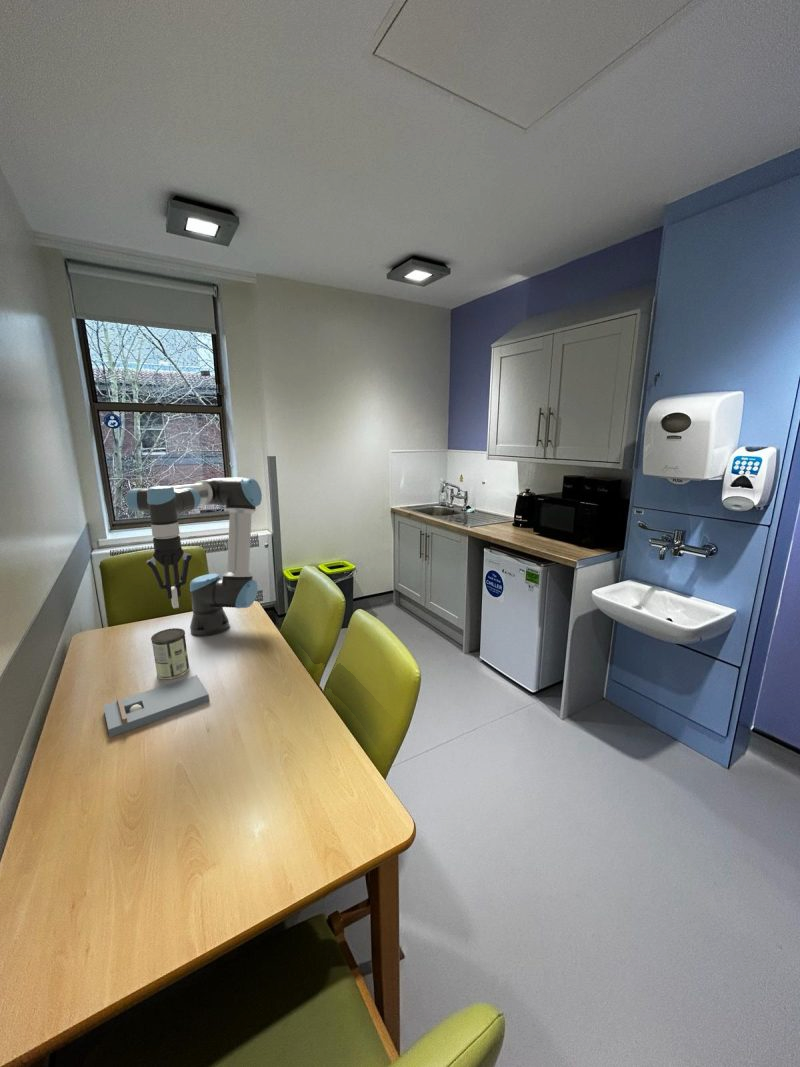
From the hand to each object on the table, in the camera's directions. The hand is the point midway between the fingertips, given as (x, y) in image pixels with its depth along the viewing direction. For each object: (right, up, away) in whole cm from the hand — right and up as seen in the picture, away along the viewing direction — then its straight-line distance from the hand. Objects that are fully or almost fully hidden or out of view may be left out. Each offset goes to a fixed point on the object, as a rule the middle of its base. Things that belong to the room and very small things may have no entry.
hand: (175, 606), depth 139 cm
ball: (-5, -28, -13) cm, 32 cm away
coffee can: (-7, -25, +11) cm, 28 cm away
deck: (-1, -29, -8) cm, 30 cm away
